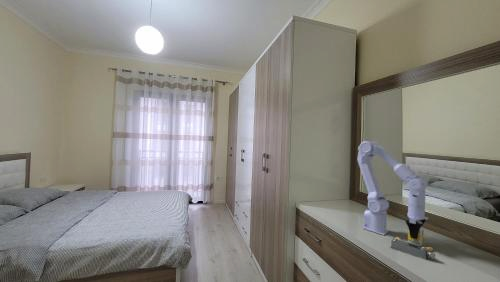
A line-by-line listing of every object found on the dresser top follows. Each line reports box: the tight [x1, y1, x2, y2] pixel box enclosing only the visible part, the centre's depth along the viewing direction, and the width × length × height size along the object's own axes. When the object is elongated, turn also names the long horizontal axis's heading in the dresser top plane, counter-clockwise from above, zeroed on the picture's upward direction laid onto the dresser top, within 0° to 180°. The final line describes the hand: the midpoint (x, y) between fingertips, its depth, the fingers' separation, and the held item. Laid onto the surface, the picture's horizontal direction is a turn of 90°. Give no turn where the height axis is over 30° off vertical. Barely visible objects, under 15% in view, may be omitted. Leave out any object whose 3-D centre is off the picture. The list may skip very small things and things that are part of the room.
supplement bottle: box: [407, 220, 425, 247], centre depth 92 cm, size 5×5×10 cm
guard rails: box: [395, 236, 434, 252], centre depth 88 cm, size 12×8×1 cm, turn 43°
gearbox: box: [390, 237, 436, 260], centre depth 83 cm, size 13×4×3 cm, turn 43°
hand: (415, 236), depth 92 cm, fingers open, 5 cm apart
